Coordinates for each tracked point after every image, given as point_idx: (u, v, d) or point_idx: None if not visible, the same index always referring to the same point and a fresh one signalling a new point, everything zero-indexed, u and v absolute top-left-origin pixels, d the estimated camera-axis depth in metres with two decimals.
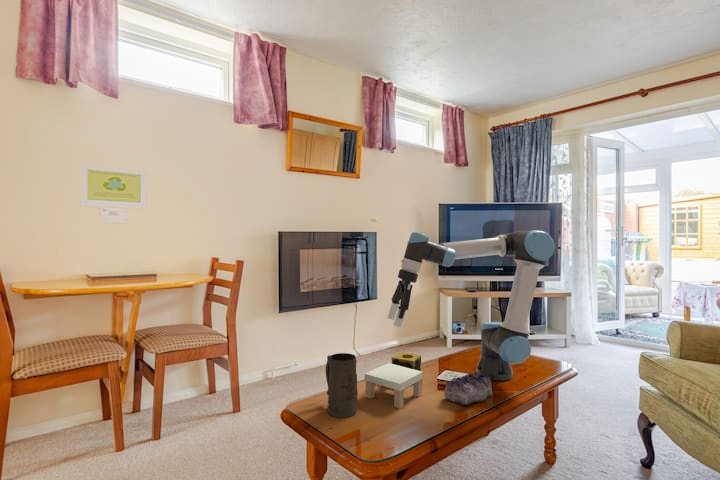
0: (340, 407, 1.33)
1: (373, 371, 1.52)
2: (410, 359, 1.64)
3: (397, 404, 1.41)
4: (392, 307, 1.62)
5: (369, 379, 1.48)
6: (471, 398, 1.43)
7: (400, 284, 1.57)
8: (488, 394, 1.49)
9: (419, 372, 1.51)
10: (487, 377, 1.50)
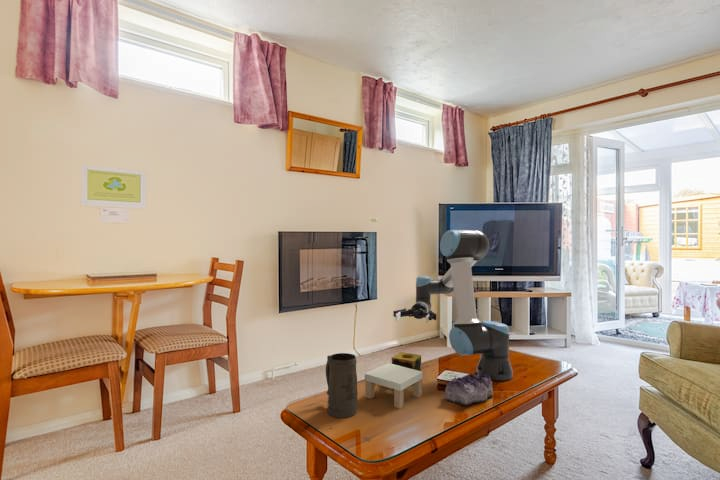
0: (340, 407, 1.33)
1: (373, 371, 1.52)
2: (410, 359, 1.64)
3: (397, 404, 1.41)
4: None
5: (369, 379, 1.48)
6: (471, 398, 1.43)
7: (418, 316, 1.91)
8: (489, 394, 1.49)
9: (419, 372, 1.51)
10: (488, 377, 1.49)
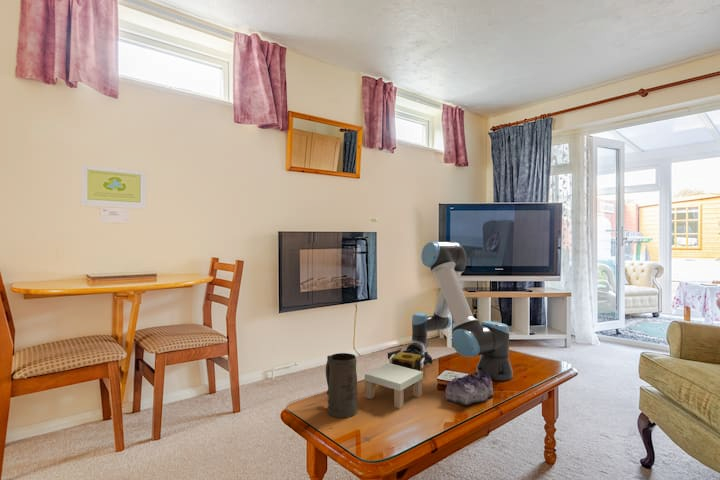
0: (340, 407, 1.33)
1: (373, 371, 1.52)
2: (410, 359, 1.64)
3: (397, 404, 1.41)
4: None
5: (369, 379, 1.48)
6: (472, 398, 1.43)
7: None
8: (489, 394, 1.49)
9: (419, 372, 1.51)
10: (488, 377, 1.50)
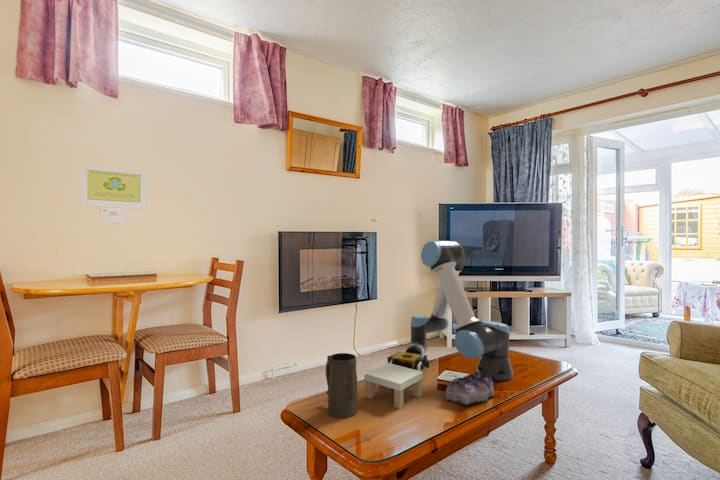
0: (340, 407, 1.33)
1: (373, 371, 1.52)
2: (410, 359, 1.64)
3: (397, 404, 1.41)
4: None
5: (369, 379, 1.48)
6: (472, 398, 1.43)
7: None
8: (490, 395, 1.49)
9: (419, 372, 1.51)
10: (489, 378, 1.49)
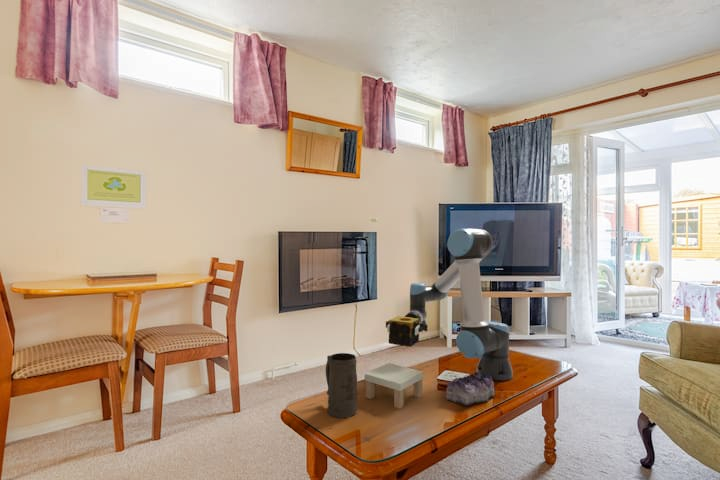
0: (340, 407, 1.33)
1: (373, 371, 1.52)
2: (408, 321, 1.63)
3: (397, 404, 1.41)
4: None
5: (369, 379, 1.48)
6: (472, 398, 1.43)
7: None
8: (490, 395, 1.49)
9: (419, 372, 1.51)
10: (489, 378, 1.49)
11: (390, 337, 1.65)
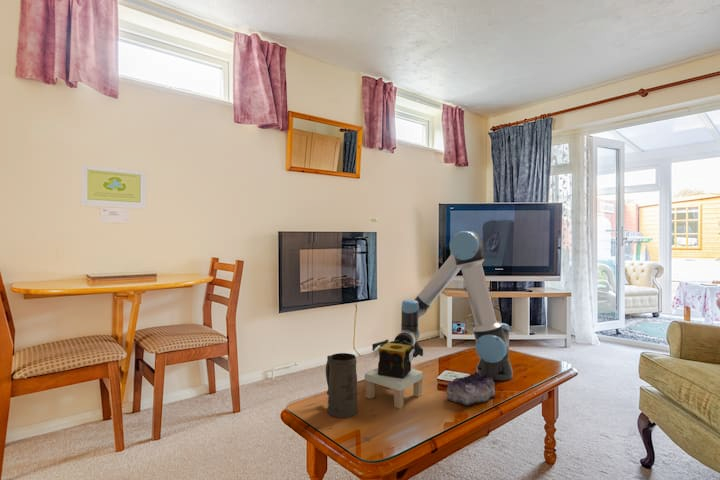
0: (340, 407, 1.33)
1: (373, 371, 1.52)
2: (399, 350, 1.46)
3: (397, 404, 1.41)
4: None
5: (369, 379, 1.48)
6: (473, 398, 1.43)
7: None
8: (491, 395, 1.49)
9: (419, 372, 1.51)
10: (490, 378, 1.49)
11: (380, 368, 1.47)
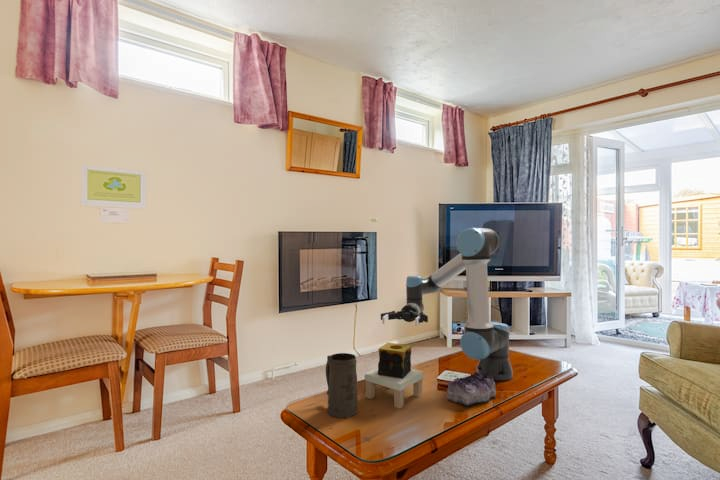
0: (340, 407, 1.33)
1: (373, 371, 1.52)
2: (399, 350, 1.46)
3: (397, 404, 1.41)
4: None
5: (369, 379, 1.48)
6: (473, 399, 1.42)
7: (409, 318, 1.74)
8: (491, 395, 1.48)
9: (419, 372, 1.51)
10: (490, 378, 1.49)
11: (380, 368, 1.47)
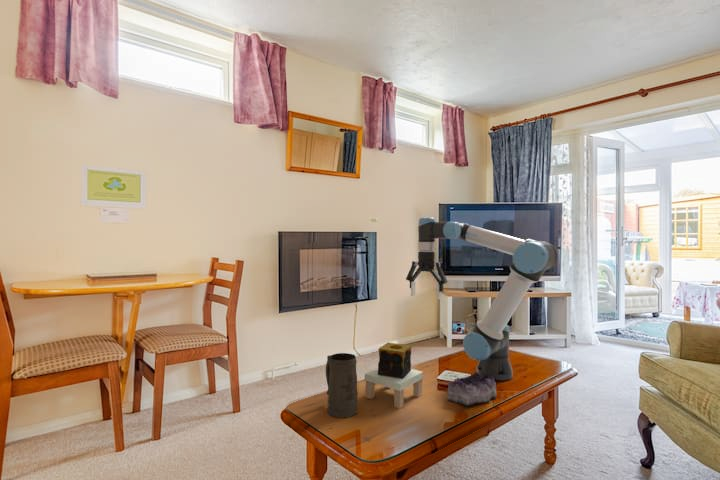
0: (340, 407, 1.33)
1: (373, 371, 1.52)
2: (399, 350, 1.46)
3: (397, 404, 1.41)
4: None
5: (369, 379, 1.48)
6: (473, 399, 1.42)
7: None
8: (492, 395, 1.48)
9: (419, 372, 1.51)
10: (491, 378, 1.48)
11: (380, 368, 1.47)
